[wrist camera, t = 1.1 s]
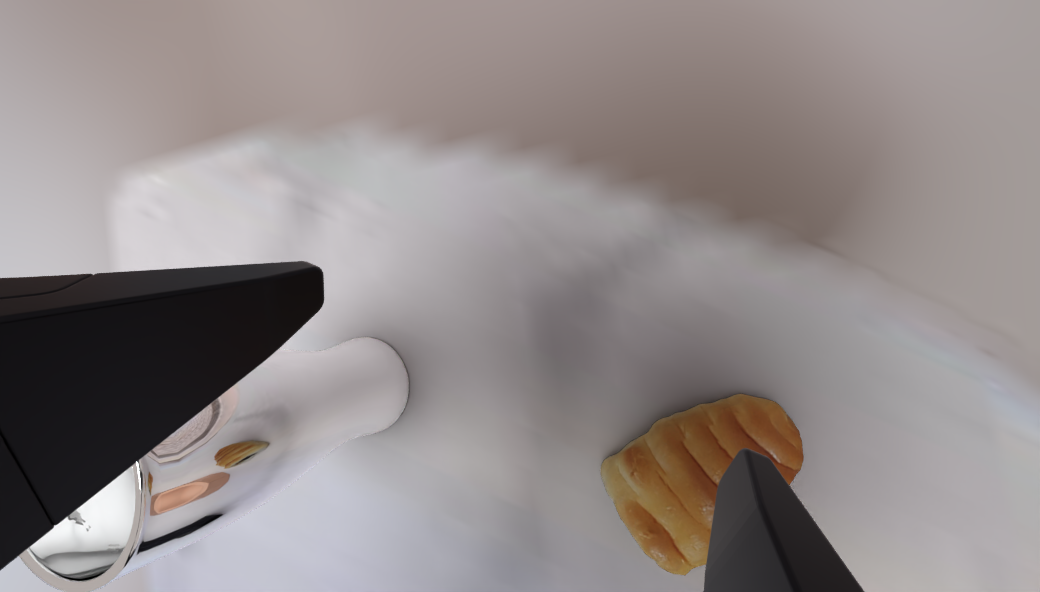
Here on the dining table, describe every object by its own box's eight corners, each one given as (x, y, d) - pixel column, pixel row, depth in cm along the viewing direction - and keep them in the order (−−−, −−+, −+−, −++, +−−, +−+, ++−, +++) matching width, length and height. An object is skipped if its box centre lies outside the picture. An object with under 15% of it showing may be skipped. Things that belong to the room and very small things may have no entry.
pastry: (730, 355, 22) (749, 367, 18) (831, 462, 21) (873, 499, 17) (591, 463, 24) (583, 495, 20) (677, 566, 23) (686, 620, 19)
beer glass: (408, 323, 27) (132, 356, 12) (423, 435, 26) (158, 608, 12) (315, 336, 28) (-21, 379, 14) (328, 441, 28) (-1, 597, 14)
